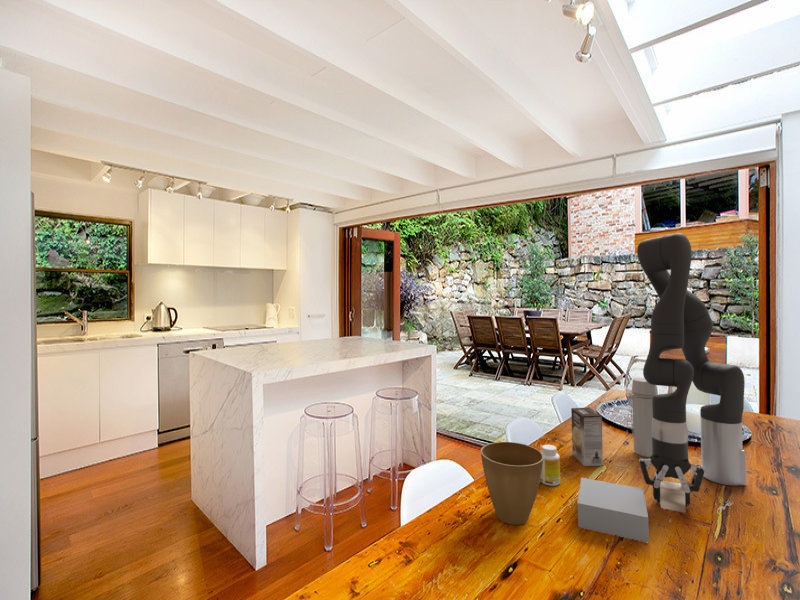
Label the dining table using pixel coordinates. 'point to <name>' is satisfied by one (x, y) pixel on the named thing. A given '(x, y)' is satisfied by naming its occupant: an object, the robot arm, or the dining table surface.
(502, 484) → the plant pot
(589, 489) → the slate block
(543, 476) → the supplement bottle
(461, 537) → the dining table surface
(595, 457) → the coffee box
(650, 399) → the water bottle
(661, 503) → the cream cube
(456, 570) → the dining table surface
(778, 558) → the dining table surface
